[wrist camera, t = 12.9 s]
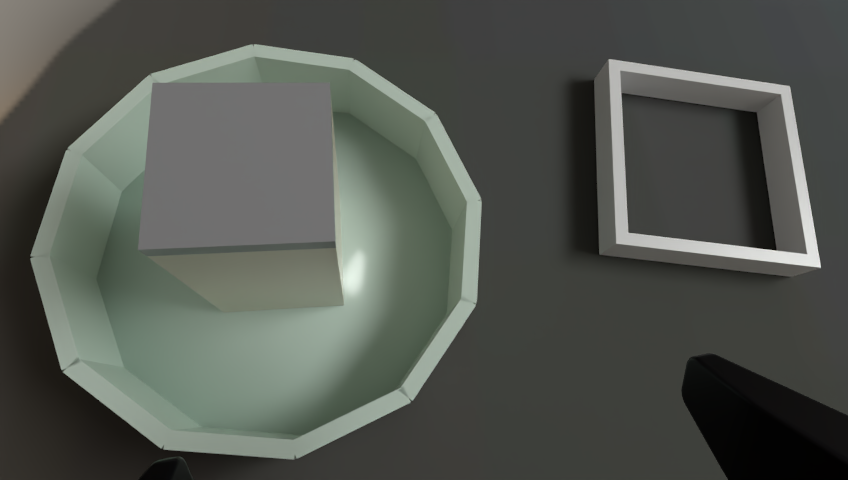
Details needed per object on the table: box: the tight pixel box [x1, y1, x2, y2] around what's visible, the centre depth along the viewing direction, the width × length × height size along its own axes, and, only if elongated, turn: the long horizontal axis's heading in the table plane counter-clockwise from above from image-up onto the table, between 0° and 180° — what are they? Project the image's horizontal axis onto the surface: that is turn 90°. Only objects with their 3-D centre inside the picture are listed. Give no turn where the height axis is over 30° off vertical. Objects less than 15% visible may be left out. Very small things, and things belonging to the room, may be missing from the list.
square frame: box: [594, 59, 821, 277], centre depth 27 cm, size 10×10×2 cm
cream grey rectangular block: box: [138, 83, 344, 312], centre depth 19 cm, size 5×5×9 cm
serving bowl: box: [30, 44, 482, 459], centre depth 22 cm, size 16×16×4 cm
